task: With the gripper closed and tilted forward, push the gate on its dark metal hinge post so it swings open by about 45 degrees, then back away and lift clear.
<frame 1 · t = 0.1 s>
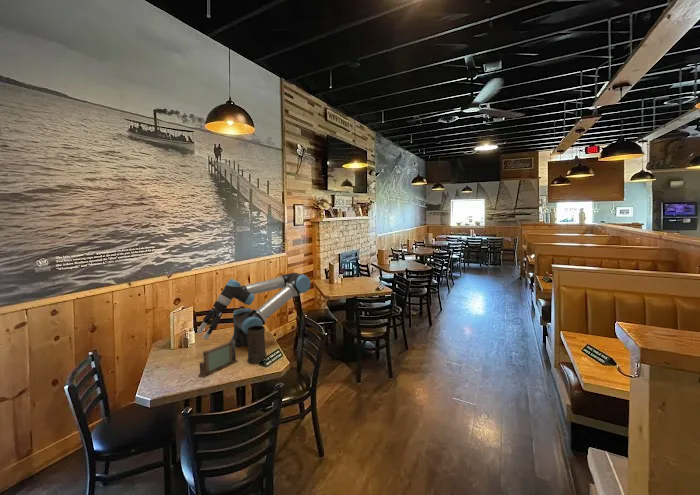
hand: (201, 335, 198), 15 cm above the table, tool tilted 35°, fingers open, 13 cm apart
gate: (218, 356, 188), point 7 cm above the table, hinge at 0.0°
beer stein: (257, 358, 202), on the table
gate frame: (233, 361, 198), on the table
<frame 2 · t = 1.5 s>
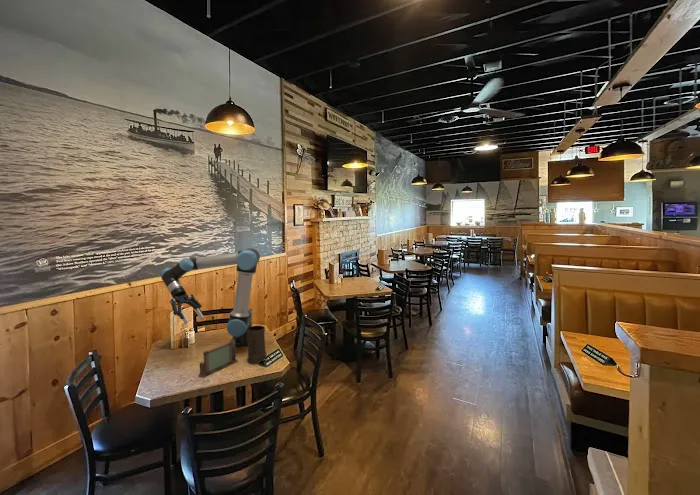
hand: (194, 320, 196), 25 cm above the table, tool tilted 45°, fingers open, 9 cm apart
nothing on the table moved.
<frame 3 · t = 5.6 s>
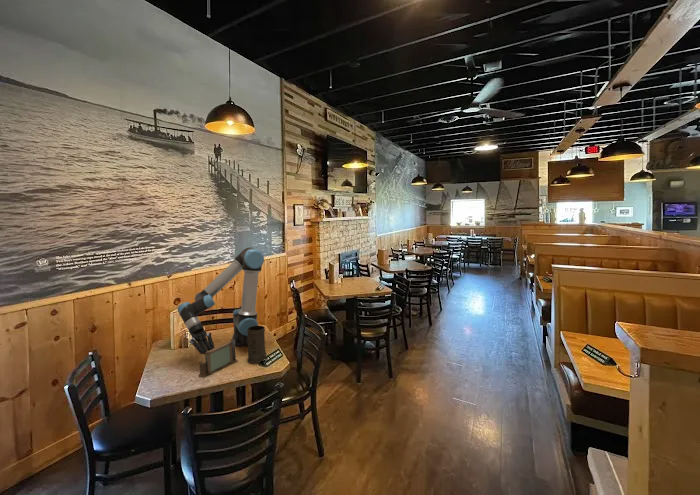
hand: (213, 361, 187), 5 cm above the table, tool tilted 45°, fingers closed
gate: (219, 356, 188), point 7 cm above the table, hinge at 4.7°, touching gripper
everything else where it was.
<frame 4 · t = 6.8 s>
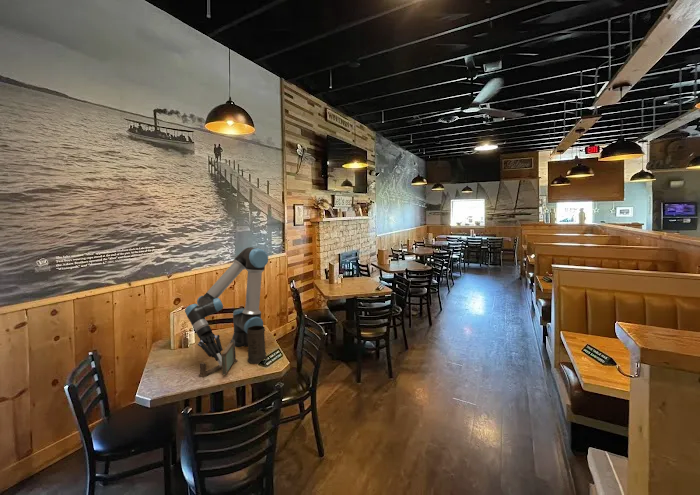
hand: (222, 364, 184), 4 cm above the table, tool tilted 45°, fingers closed
gate: (228, 357, 187), point 7 cm above the table, hinge at 35.7°, touching gripper
everything else where it was.
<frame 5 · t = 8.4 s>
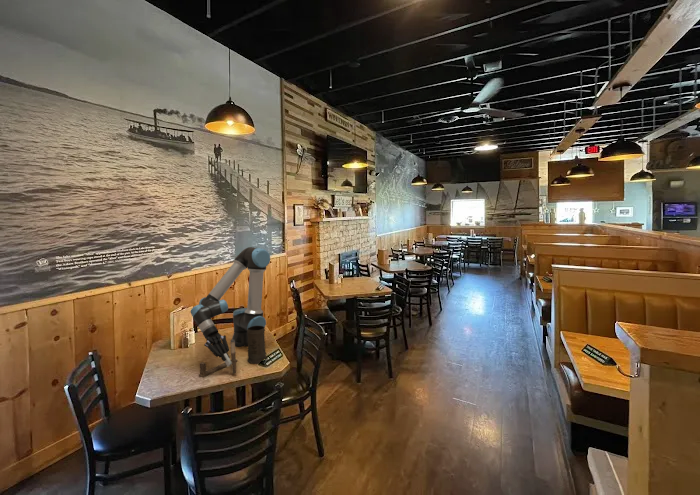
hand: (229, 364, 182), 5 cm above the table, tool tilted 45°, fingers closed
gate: (233, 357, 188), point 7 cm above the table, hinge at 51.4°, touching gripper
everything else where it was.
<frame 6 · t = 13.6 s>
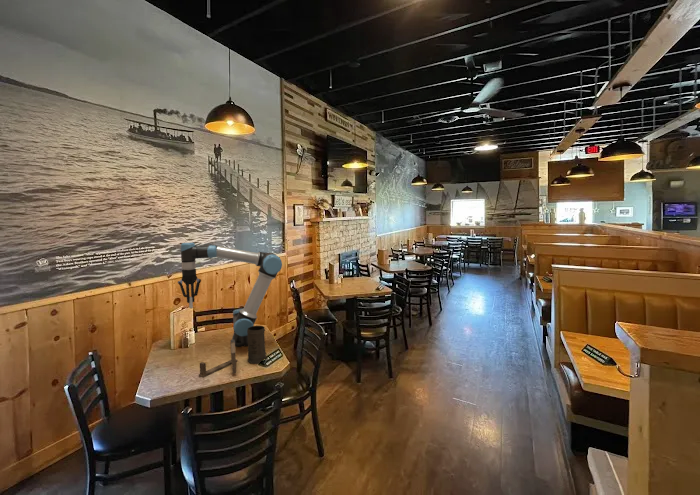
hand: (191, 307, 202), 30 cm above the table, tool pointing down, fingers closed
gate: (233, 357, 188), point 7 cm above the table, hinge at 51.4°
everything else where it was.
at the end: gate at +51° (first picture: +0°); beer stein moved 0.2 cm from its start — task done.
